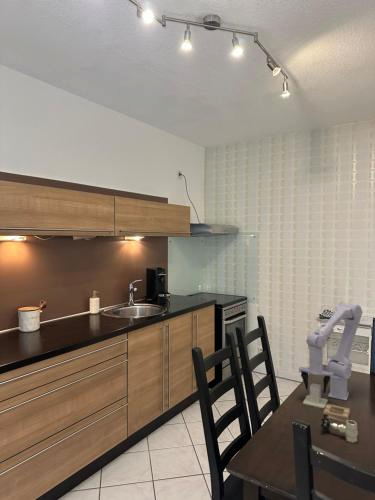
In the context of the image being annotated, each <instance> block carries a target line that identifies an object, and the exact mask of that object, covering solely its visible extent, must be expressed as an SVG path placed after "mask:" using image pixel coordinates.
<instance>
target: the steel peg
mask: <svg viewBox="0 0 375 500" xmlns="http://www.w3.org/2000/svg"><path fill="white" fill-rule="evenodd" d="M309 396H310V402H313V403H317V404H319V403H320V401H321V398H322V385H321V384H316V383H313V382H312V383H311V384H310V385H309Z"/></svg>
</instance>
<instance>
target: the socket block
mask: <svg viewBox="0 0 375 500" xmlns="http://www.w3.org/2000/svg"><path fill="white" fill-rule="evenodd" d="M350 413H351V409H350V408H348V407H343V406H338V405H334V404H330V403H326V406H325V408H324V410H323V415H324V414H327V415H328V417H327V418H329V419H330V420H331V419H332V420H335V421H338V422H342V423H346V421H347V420H349V418H350Z"/></svg>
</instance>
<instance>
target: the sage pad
mask: <svg viewBox="0 0 375 500" xmlns="http://www.w3.org/2000/svg"><path fill="white" fill-rule="evenodd" d="M328 402H329V401H328V399H326V398H322V397H321V401H320V403H319V404H317V403H313V402H310V394H309V395H308V394H307V395H306V396H305V398H304V400H303V401H302V404H304V405H307V406H311V407H315V408H319V409H325V407H326V405H327V404H328Z"/></svg>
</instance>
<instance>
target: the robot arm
mask: <svg viewBox="0 0 375 500" xmlns="http://www.w3.org/2000/svg"><path fill="white" fill-rule="evenodd" d="M362 315H363V310H362V307H361V305H359V304H354V303H353V304H352V303H346V302H343V301H341V302H339V303H338V304H337V305H336V306H335V312H334V313H333V314H332V315H331V317H330V318H329V319H328V321H327V322H322V323H321V324H320V326H319V327H317V329H316V330H315V331H314V332H313V333H310V334H308V335H307V337H306V340H305V341H306V344H307V349H308V350H309V351H308V353H309V355H308V356H309V357H308V358H309V359H308V360H309V362H308V366H309V367H301V366H299V368H298V373H300V377H301V378H302V381H303V383H304V386H305V387H304V388H305V390H308V389H309V375H314V376H321V377H323V379H322V380H323V389H322V390H323V394H326V392H327V387H328V384H329V382H330V385H329V387H330V389H329V393H328V395H327V396H328V397H329V398H334V399H338V400H341V401H348V397H349V394H350V393H349V391H348V380H349V378H350V377H351V375H352V368H353V367H352V366H353V364H352V363H351V361H350V359H349V357H350V355H351V354H350V353H351V351H352V347H353V343H354V340H355V337H356V333H357V331H358V326H359V324H360V322H361V319H362ZM342 320H343V321H344V323H345V325H344V327H343V331H342V334H341V337H340V341H339V345H338V347H337V351H336V354H334V355H332V356H330V358H329V361H328V362H327V364H326V370H324V367H323V365H324V364H323V362H324V360H323V357H324V354H323V352H324V351H323V350H324V347H325V346H326V344H327V341H328V338H329V337H330V336H331V335H332V334H333V333H334V328H335V327H336V326H337V325H338V324H339V323H340V322H341V321H342Z"/></svg>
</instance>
